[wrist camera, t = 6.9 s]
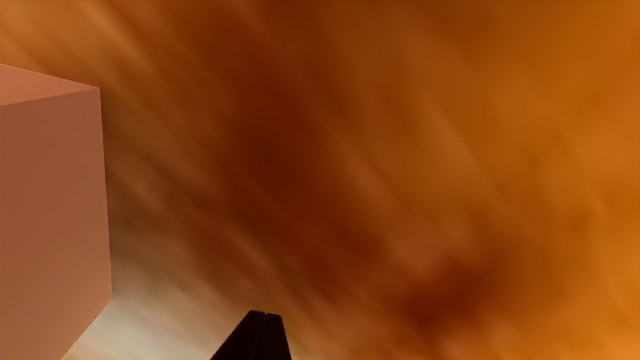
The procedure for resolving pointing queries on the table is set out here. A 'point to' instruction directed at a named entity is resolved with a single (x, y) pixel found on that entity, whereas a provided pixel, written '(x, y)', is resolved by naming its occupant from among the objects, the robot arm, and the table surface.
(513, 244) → the table surface
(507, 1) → the table surface
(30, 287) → the block
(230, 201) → the table surface
